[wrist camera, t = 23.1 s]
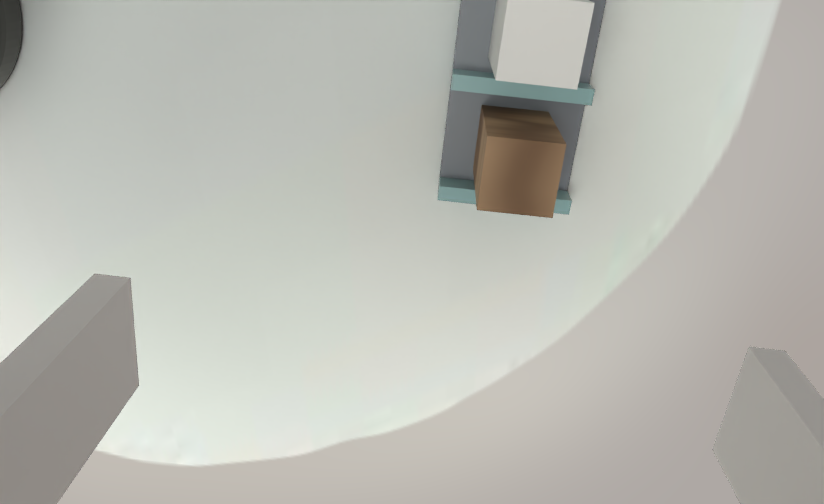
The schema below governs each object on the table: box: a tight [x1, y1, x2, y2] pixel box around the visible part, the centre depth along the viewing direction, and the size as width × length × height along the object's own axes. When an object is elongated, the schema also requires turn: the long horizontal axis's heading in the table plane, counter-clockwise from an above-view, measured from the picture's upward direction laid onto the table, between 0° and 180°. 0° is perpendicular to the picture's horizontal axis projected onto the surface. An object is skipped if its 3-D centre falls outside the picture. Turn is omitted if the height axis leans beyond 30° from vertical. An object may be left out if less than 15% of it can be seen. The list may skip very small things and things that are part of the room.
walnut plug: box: [473, 105, 566, 218], centre depth 44 cm, size 4×4×8 cm
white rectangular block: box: [488, 0, 595, 90], centre depth 41 cm, size 4×4×8 cm
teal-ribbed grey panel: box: [438, 0, 606, 214], centre depth 45 cm, size 9×16×3 cm, turn 174°
